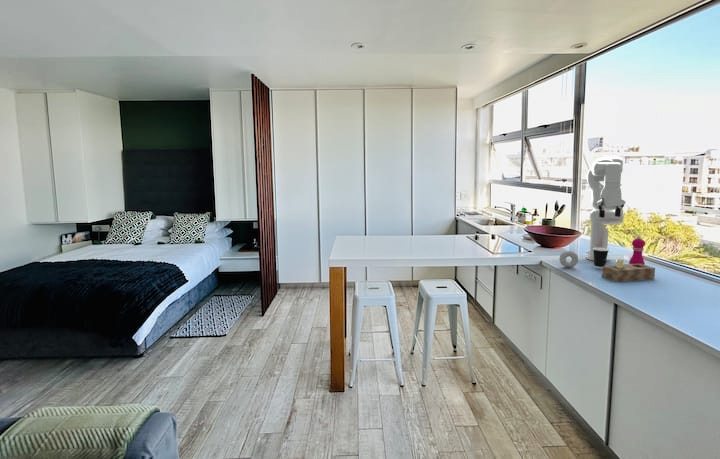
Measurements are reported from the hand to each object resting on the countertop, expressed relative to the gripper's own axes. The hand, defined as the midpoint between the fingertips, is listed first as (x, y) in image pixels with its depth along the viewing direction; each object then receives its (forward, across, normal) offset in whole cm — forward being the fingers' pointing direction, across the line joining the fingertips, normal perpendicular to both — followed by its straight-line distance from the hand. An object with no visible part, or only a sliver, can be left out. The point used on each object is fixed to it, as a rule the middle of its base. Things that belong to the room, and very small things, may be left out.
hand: (609, 217), depth 229 cm
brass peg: (+30, +5, +16) cm, 35 cm away
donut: (+31, +16, -10) cm, 36 cm away
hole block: (+30, 0, +16) cm, 34 cm away
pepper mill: (+31, -14, +6) cm, 34 cm away
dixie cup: (+31, -1, -6) cm, 31 cm away
